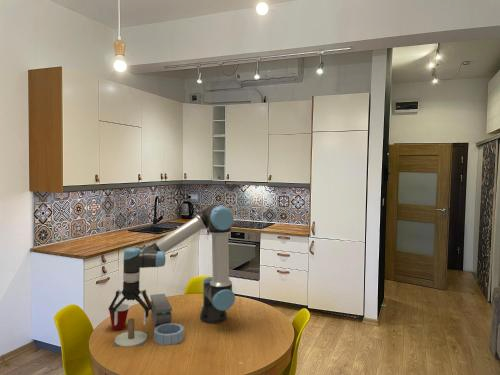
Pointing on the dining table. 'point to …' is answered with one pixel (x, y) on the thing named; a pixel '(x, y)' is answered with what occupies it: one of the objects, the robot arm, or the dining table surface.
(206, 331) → the dining table surface
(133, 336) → the lid
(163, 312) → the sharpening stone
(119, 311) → the plastic cup
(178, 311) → the dining table surface
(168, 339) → the bowl
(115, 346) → the mat
